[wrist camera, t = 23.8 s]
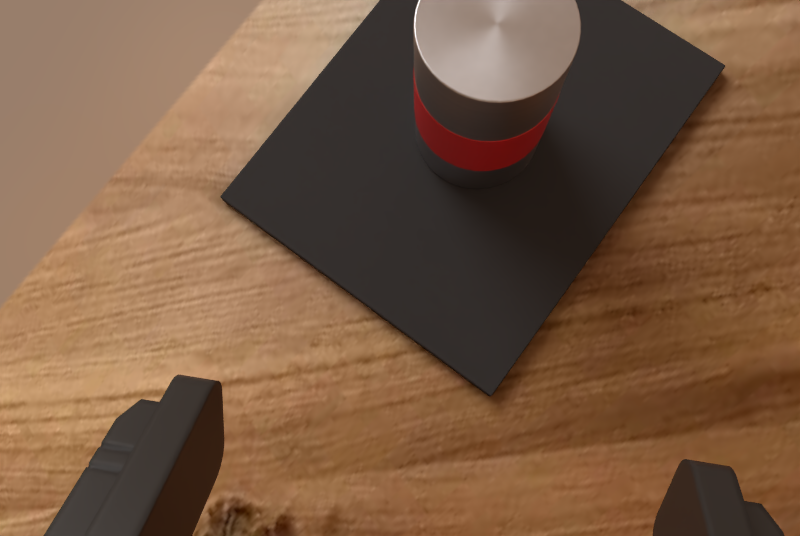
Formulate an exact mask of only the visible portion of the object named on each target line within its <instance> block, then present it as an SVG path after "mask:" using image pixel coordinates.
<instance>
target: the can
mask: <svg viewBox="0 0 800 536" xmlns="http://www.w3.org/2000/svg"><path fill="white" fill-rule="evenodd" d="M413 33H414V112H415V134H416V141H417V146H418V149H419V151H420V154H421V156H422V157H423V159H424V161H425V162H426V164H427V165H428V166H429V168H430V169H431V170H432V171H433V172H434V173H436V174H437V175H438V176H439V177H441V178H442V179H444V180H446V181H447V182H449V183H452V184H454V185H457V186H460V187H464V188H470V189H485V188H491V187H496V186H498V185H501V184H504V183H506V182H508V181H510V180H511V179H513V178H514V177H516V176H517V175H518V174H519V173H520V172H522V171H523V170H524V168H525V167H526V166H527V165H528V163H529V162H530V160H531V159H532V157H533V155H534V153H535V150H536V148H537V146H538V143H539V141H540V139H541V137H542V135H543V133H544V131H545V128H546V126H547V124H548V121H549V119H550V116H551V114H552V112H553V109H554V107H555V105H556V102H557V100H558V97H559V94H560V91H561V88H562V86H563V84H564V81H565V79H566V76H567V74H568V72H569V69H570V67H571V65H572V62H573V60H574V57H575V55H576V53H577V49H578V46H579V42H580V35H581V20H580V13H579V10H578V6H577V3H576V1H575V0H418V3H417V6H416V10H415V15H414V26H413Z"/></svg>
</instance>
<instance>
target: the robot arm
mask: <svg viewBox="0 0 800 536" xmlns="http://www.w3.org/2000/svg"><path fill="white" fill-rule="evenodd" d="M223 451H224V423H223V400H222V386H221V383H220V382H219V381H215V380H209V379H202V378H196V377H190V376H184V375H177V376H175V377H174V378H173V380H172V381H171V383H170V385H169V387H168V388H167V390H166V392H165V394H164V395H163V397H162V399H161V401H160V402H155V401H149V400H143V399H141V400H140V401H138V402H137V403H136V404H134V405H133V406H132V407H131V408H129V409H128V410H127V411H125V412H124V413H123V414H122V415H120V416H119V417H118V418H117V419H116V420H115V422H114V423H113V425H112V427H111V428H110V430H109V431H108V433H107V435H106V436H105V438H104V439H103V441H102V445H101V447H99V448H98V449H97V451H96V452H95V454H94V456H93V457H92V459H91V460H90V462H89V467H88V468H87V467H86V468H85V470H84V472H83V473H82V475H81V477H80V478H79V480H78V481H77V483H76V485H75V486H74V488H73V489H72V491H71V493H70V494H69V496H68V497H67V499H66V501H65V502H64V504H63V506H62V507H61V509H60V510H59V512H58V514H57V515H56V517H55V518H54V520H53V522H52V523H51V525H50V526H49V528H48V530H47V531H46V533H45V534H44V536H192V534H193V532H194V530H195V527H196V525H197V523H198V520H199V518H200V516H201V513H202V511H203V509H204V506H205V504H206V502H207V499H208V497H209V495H210V492H211V490H212V487H213V485H214V483H215V480H216V478H217V475H218V473H219V469H220V466H221V462H222V457H223ZM653 536H784V534H783V531H782V530H781V529H780V528H779V526H778V525H777V524H776V522H775V521H774V520H773V519H772V517H771V516H770V515H769V513H768V512H767V511H766V510H765V508H764V507H763V506H762V504H759V503H753V502H747V501H744V499H743V496H742V493H741V490H740V486H739V483H738V480H737V477H736V474H735V472H734V470H733V469H732V468H731V467H729V466H724V465H718V464H711V463H705V462H699V461H693V460H687V459H684V460H683V461H681V463H680V464H679V466H678V468H677V470H676V473H675V475H674V477H673V479H672V482H671V484H670V486H669V489H668V491H667V493H666V495H665V498H664V500H663V502H662V504H661V507H660V509H659V511H658V513H657V516H656V519H655V523H654V529H653Z"/></svg>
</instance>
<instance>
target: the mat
mask: <svg viewBox="0 0 800 536" xmlns="http://www.w3.org/2000/svg"><path fill="white" fill-rule="evenodd" d="M575 1H576V3H577V6H578V10H579V13H580V20H581V35H580V42H579V46H578V49H577V53H576V55H575V57H574V60H573V62H572V65H571V67H570V69H569V72H568V74H567V76H566V79H565V81H564V84H563V86H562V88H561V91H560V94H559V97H558V100H557V102H556V105H555V107H554V109H553V112H552V114H551V116H550V119H549V121H548V124H547V126H546V128H545V131H544V133H543V135H542V137H541V139H540V141H539V143H538V146H537V148H536V150H535V153H534V155H533V157H532V159H531V160H530V162H529V163H528V165H527V166H526V167H525V168H524V170H523V171H522V172H520V173H519V174H518V175H517V176H516V177H514V178H513V179H511V180H510V181H508V182H506V183H504V184H501V185H498V186H496V187H491V188H485V189H470V188H464V187H460V186H457V185H454V184H452V183H449V182H447V181H446V180H444V179H442V178H441V177H439V176H438V175H437V174H436V173H434V172H433V171H432V170H431V169H430V168H429V166H428V165H427V164H426V162H425V161H424V159H423V157H422V156H421V154H420V151H419V149H418V146H417V141H416V134H415V112H414V33H413V26H414V15H415V10H416V6H417V3H418V0H380V1H379V2H378V3H377V5H376V6H375V7H374V8H373V10H372V11H371V12H370V13H369V14H368V16H367V17H366V18H365V19H364V21H363V22H362V23H361V24H360V26H359V27H358V28H357V29H356V30H355V32H354V33H353V34H352V35H351V37H350V38H349V39H348V40H347V41H346V43H345V44H344V45H343V46H342V48H341V49H340V50H339V51H338V53H337V54H336V55H335V56H334V57H333V59H332V60H331V61H330V62H329V64H328V65H327V66H326V67H325V69H324V70H323V71H322V72H321V73H320V75H319V76H318V77H317V78H316V80H315V81H314V82H313V83H312V85H311V86H310V87H309V88H308V89H307V91H306V92H305V93H304V94H303V96H302V97H301V98H300V99H299V101H298V102H297V103H296V104H295V105H294V107H293V108H292V109H291V110H290V112H289V113H288V114H287V115H286V117H285V118H284V119H283V120H282V121H281V123H280V124H279V125H278V126H277V128H276V129H275V130H274V131H273V133H272V134H271V135H270V136H269V137H268V139H267V140H266V141H265V142H264V144H263V145H262V146H261V147H260V149H259V150H258V151H257V152H256V153H255V155H254V156H253V157H252V158H251V160H250V161H249V162H248V163H247V165H246V166H245V167H244V168H243V169H242V171H241V172H240V173H239V174H238V176H237V177H236V178H235V179H234V181H233V182H232V183H231V184H230V185H229V187H228V188H227V189H226V190H225V192H224V193H223V194H222V195H221V198H222V200H223V201H225V202H226V203H227V204H229V205H230V206H231V207H233V208H234V209H235V210H237V211H238V212H240V213H241V214H242V215H244V216H245V217H246V218H248V219H249V220H250V221H252V222H253V223H255V224H256V225H257V226H259V227H260V228H261V229H263V230H264V231H265V232H267V233H268V234H269V235H271V236H272V237H274V238H275V239H276V240H278V241H279V242H280V243H282V244H283V245H284V246H286V247H287V248H289V249H290V250H291V251H293V252H294V253H295V254H297V255H298V256H299V257H301V258H302V259H303V260H305V261H306V262H308V263H309V264H310V265H312V266H313V267H314V268H316V269H317V270H318V271H320V272H321V273H322V274H324V275H325V276H327V277H328V278H329V279H331V280H332V281H333V282H335V283H336V284H337V285H339V286H340V287H342V288H343V289H344V290H346V291H347V292H348V293H350V294H351V295H352V296H354V297H355V298H356V299H358V300H359V301H361V302H362V303H363V304H365V305H366V306H367V307H369V308H370V309H371V310H373V311H374V312H376V313H377V314H378V315H380V316H381V317H382V318H384V319H385V320H386V321H388V322H389V323H390V324H392V325H393V326H395V327H396V328H397V329H399V330H400V331H401V332H403V333H404V334H405V335H407V336H408V337H409V338H411V339H412V340H414V341H415V342H416V343H418V344H419V345H420V346H422V347H423V348H424V349H426V350H427V351H429V352H430V353H431V354H433V355H434V356H435V357H437V358H438V359H439V360H441V361H442V362H443V363H445V364H446V365H448V366H449V367H450V368H452V369H453V370H454V371H456V372H457V373H458V374H460V375H461V376H463V377H464V378H465V379H467V380H468V381H469V382H471V383H472V384H473V385H475V386H476V387H477V388H479V389H480V390H482V391H483V392H484V393H486V394H487V395H488V396H492V395H493V393H494V392H495V390H496V389H497V388H498V386H499V385H500V383H501V382H502V380H503V379H504V378H505V376H506V375H507V373H508V372H509V371H510V369H511V368H512V366H513V365H514V364H515V362H516V361H517V359H518V358H519V356H520V355H521V354H522V352H523V351H524V349H525V348H526V347H527V345H528V344H529V342H530V341H531V340H532V338H533V337H534V335H535V334H536V333H537V331H538V330H539V328H540V327H541V325H542V324H543V323H544V321H545V320H546V318H547V317H548V316H549V314H550V313H551V311H552V310H553V309H554V307H555V306H556V304H557V303H558V301H559V300H560V299H561V297H562V296H563V294H564V293H565V292H566V290H567V289H568V287H569V286H570V285H571V283H572V282H573V280H574V279H575V278H576V276H577V275H578V273H579V272H580V270H581V269H582V268H583V266H584V265H585V263H586V262H587V261H588V259H589V258H590V256H591V255H592V254H593V252H594V251H595V249H596V248H597V246H598V245H599V244H600V242H601V241H602V239H603V238H604V237H605V235H606V234H607V232H608V231H609V230H610V228H611V227H612V225H613V224H614V222H615V221H616V220H617V218H618V217H619V215H620V214H621V213H622V211H623V210H624V208H625V207H626V206H627V204H628V203H629V201H630V200H631V199H632V197H633V196H634V194H635V193H636V191H637V190H638V189H639V187H640V186H641V184H642V183H643V182H644V180H645V179H646V177H647V176H648V175H649V173H650V172H651V170H652V169H653V167H654V166H655V165H656V163H657V162H658V160H659V159H660V158H661V156H662V155H663V153H664V152H665V151H666V149H667V148H668V146H669V145H670V144H671V142H672V141H673V139H674V138H675V136H676V135H677V134H678V132H679V131H680V129H681V128H682V127H683V125H684V124H685V122H686V121H687V120H688V118H689V117H690V115H691V114H692V112H693V111H694V110H695V108H696V107H697V105H698V104H699V103H700V101H701V100H702V98H703V97H704V96H705V94H706V93H707V91H708V90H709V89H710V87H711V86H712V84H713V83H714V81H715V80H716V79H717V77H718V76H719V74H720V73H721V72H722V70H723V69H724V67H725V65H724V64H722V63H720V62H719V61H717V60H716V59H714V58H712V57H711V56H709V55H708V54H706V53H704V52H703V51H701V50H700V49H698V48H696V47H695V46H693V45H692V44H690V43H688V42H687V41H685V40H684V39H682V38H680V37H679V36H677V35H676V34H674V33H672V32H671V31H669V30H668V29H666V28H665V27H663V26H661V25H660V24H658V23H657V22H655V21H653V20H652V19H650V18H649V17H647V16H645V15H644V14H642V13H641V12H639V11H637V10H636V9H634V8H633V7H631V6H629V5H628V4H626V3H625V2H623V1H621V0H575Z"/></svg>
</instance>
